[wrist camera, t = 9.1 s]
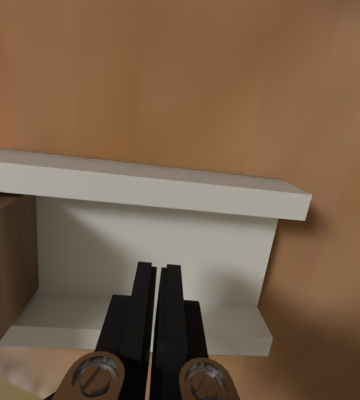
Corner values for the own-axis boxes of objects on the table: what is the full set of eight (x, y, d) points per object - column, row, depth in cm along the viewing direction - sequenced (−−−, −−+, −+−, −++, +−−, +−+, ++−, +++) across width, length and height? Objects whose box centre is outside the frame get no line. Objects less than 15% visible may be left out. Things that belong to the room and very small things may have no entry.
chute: (280, 179, 15) (312, 195, 12) (248, 314, 17) (267, 356, 14) (-122, 134, 13) (-212, 139, 10) (-91, 294, 15) (-155, 339, 12)
